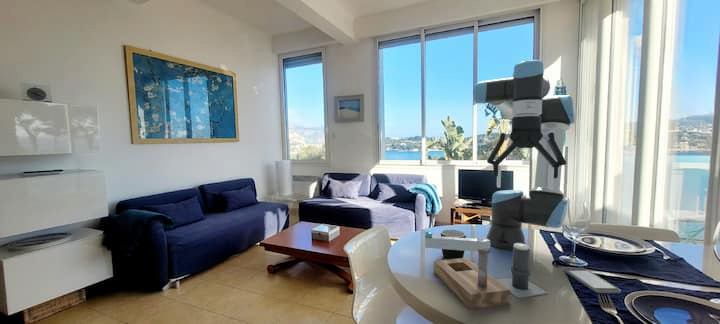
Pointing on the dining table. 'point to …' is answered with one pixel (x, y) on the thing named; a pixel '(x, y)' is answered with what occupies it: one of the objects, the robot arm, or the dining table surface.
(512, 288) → the mat
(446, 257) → the mug
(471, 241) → the crank
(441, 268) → the socket block
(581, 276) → the smartphone
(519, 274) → the plug
